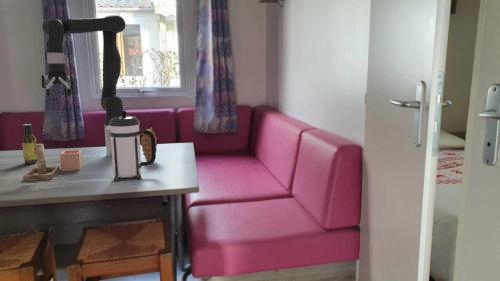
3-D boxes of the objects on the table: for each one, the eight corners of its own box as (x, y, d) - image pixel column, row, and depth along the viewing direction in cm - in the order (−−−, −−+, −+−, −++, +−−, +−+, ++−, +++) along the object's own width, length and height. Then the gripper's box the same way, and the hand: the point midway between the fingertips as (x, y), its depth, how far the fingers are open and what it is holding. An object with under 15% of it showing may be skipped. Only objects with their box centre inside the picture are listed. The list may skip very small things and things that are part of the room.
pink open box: (83, 167, 184) (81, 149, 183) (80, 171, 177) (78, 153, 175) (65, 168, 182) (64, 150, 181) (61, 173, 175) (60, 154, 173)
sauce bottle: (39, 163, 192) (34, 124, 188) (24, 165, 189) (20, 125, 185) (37, 160, 197) (33, 123, 194) (24, 162, 194) (19, 124, 190)
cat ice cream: (151, 165, 189) (150, 129, 186) (138, 163, 192) (136, 128, 188) (161, 161, 197) (159, 127, 194) (148, 159, 200) (146, 126, 196)
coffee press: (127, 184, 157) (122, 113, 152) (102, 178, 166) (97, 111, 160) (157, 175, 172) (154, 109, 166) (133, 170, 180) (130, 107, 174)
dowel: (47, 174, 169) (44, 143, 167) (45, 176, 166) (42, 145, 164) (39, 174, 169) (36, 144, 166) (37, 176, 166) (34, 145, 163)
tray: (60, 172, 176) (59, 166, 175) (52, 181, 162) (51, 174, 162) (33, 174, 173) (33, 167, 172) (23, 183, 160) (22, 176, 159)
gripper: (74, 62, 185) (77, 96, 188) (42, 62, 182) (45, 96, 185) (70, 62, 178) (73, 97, 181) (37, 62, 175) (41, 97, 178)
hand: (59, 96), depth 183 cm, fingers open, 8 cm apart
